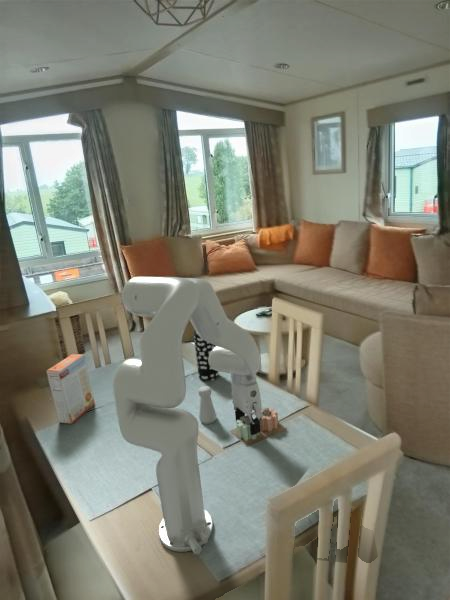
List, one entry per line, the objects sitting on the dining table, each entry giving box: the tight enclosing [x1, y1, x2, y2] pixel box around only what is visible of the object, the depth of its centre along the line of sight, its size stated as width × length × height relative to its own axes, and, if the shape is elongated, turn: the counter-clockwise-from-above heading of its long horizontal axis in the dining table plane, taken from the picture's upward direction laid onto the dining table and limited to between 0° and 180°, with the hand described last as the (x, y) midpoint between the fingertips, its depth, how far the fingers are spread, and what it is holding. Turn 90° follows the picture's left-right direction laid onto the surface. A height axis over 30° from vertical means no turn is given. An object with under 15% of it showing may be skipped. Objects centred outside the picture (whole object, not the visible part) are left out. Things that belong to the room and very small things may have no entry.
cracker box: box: [46, 353, 96, 425], centre depth 150 cm, size 14×6×21 cm, turn 161°
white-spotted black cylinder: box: [192, 329, 220, 382], centre depth 169 cm, size 8×8×20 cm
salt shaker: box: [197, 385, 217, 425], centre depth 137 cm, size 6×6×13 cm
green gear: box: [235, 416, 260, 441], centre depth 128 cm, size 7×7×4 cm
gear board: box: [229, 407, 287, 447], centre depth 130 cm, size 10×15×7 cm, turn 120°
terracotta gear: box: [260, 407, 279, 432], centre depth 132 cm, size 7×7×4 cm
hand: (247, 426), depth 128 cm, fingers open, 7 cm apart
